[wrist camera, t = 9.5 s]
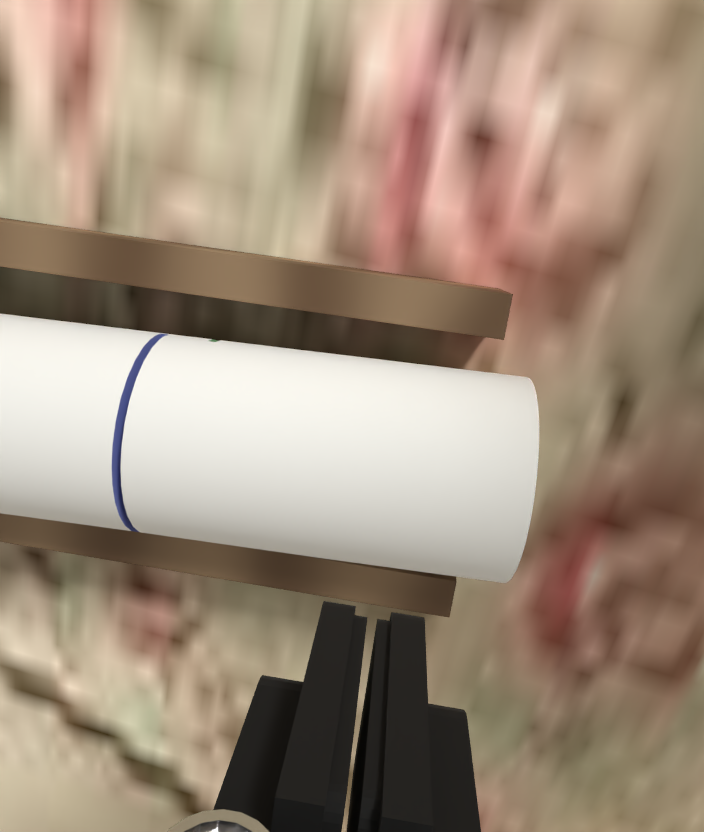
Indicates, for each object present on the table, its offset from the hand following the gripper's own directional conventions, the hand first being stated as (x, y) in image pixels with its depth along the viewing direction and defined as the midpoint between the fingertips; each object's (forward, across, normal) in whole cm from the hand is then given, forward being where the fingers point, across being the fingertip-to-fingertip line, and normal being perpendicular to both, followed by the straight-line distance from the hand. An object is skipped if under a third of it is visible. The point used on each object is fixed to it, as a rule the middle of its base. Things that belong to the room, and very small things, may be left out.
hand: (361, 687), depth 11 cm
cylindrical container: (+13, -5, 0) cm, 13 cm away
